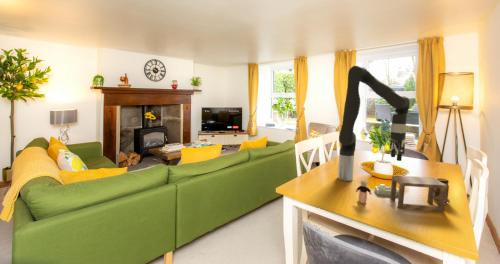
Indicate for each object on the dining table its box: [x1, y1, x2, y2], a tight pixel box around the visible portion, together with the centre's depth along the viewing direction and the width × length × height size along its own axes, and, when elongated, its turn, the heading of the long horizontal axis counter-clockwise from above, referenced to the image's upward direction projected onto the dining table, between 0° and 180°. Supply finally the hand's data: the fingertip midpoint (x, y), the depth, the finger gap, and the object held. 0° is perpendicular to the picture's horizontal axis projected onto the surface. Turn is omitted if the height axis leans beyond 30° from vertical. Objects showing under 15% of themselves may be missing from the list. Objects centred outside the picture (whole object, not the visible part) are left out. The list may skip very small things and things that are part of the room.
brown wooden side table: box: [389, 175, 447, 213], centre depth 127 cm, size 20×12×14 cm, turn 79°
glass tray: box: [374, 183, 399, 197], centre depth 142 cm, size 12×6×5 cm, turn 79°
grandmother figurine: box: [355, 179, 372, 205], centre depth 130 cm, size 8×4×13 cm, turn 66°
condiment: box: [433, 177, 451, 205], centre depth 132 cm, size 7×8×12 cm
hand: (395, 158), depth 144 cm, fingers open, 8 cm apart
